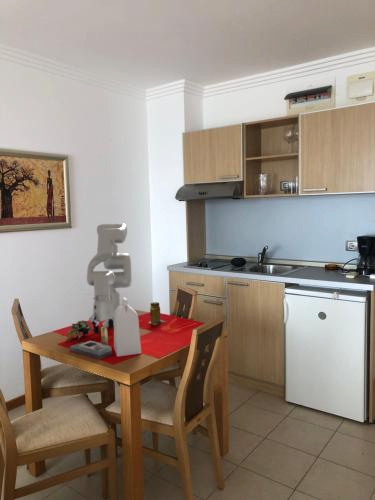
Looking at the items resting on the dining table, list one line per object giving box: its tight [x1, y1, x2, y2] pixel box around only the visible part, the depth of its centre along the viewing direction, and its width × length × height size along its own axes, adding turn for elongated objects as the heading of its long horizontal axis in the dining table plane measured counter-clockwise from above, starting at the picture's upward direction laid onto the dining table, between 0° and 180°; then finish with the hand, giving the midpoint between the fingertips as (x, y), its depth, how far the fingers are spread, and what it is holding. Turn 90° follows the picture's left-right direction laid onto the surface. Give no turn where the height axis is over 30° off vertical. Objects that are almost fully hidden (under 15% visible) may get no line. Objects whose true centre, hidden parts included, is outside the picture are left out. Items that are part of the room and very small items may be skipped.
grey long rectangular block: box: [69, 340, 113, 360], centre depth 202 cm, size 22×8×5 cm, turn 52°
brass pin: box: [100, 325, 109, 346], centre depth 213 cm, size 3×3×9 cm
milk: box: [113, 296, 142, 357], centre depth 202 cm, size 12×12×26 cm
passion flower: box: [67, 320, 94, 341], centre depth 224 cm, size 11×11×12 cm
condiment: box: [148, 301, 166, 326], centre depth 249 cm, size 7×8×12 cm
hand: (103, 330), depth 212 cm, fingers open, 9 cm apart
